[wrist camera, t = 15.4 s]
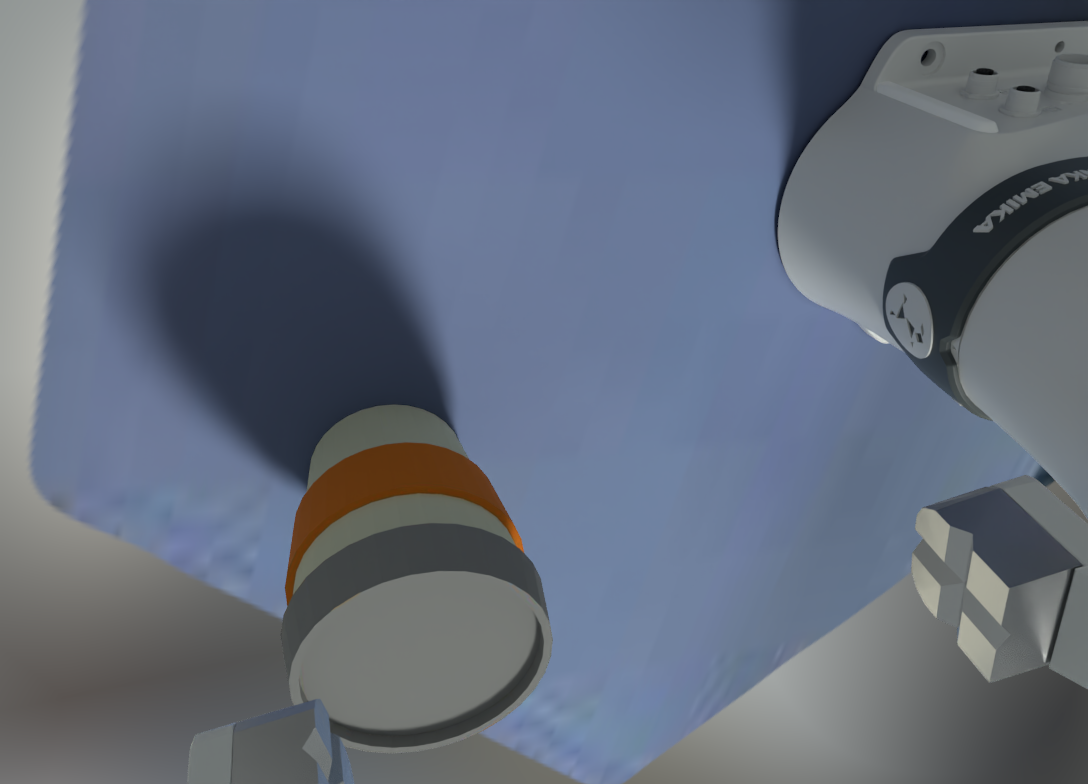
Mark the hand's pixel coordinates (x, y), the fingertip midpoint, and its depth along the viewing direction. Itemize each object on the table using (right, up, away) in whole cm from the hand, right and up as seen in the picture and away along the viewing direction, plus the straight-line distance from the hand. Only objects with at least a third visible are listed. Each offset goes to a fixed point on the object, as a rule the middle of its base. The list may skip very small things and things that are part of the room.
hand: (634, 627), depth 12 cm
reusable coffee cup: (-10, -1, +41) cm, 43 cm away
